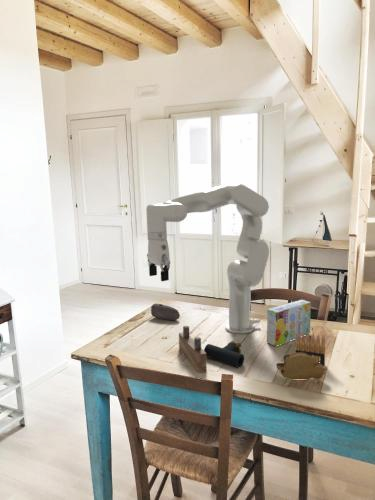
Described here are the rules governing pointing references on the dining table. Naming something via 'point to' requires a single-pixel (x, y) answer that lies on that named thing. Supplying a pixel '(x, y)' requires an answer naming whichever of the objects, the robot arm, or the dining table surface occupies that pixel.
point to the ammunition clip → (311, 347)
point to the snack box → (288, 321)
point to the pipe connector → (226, 354)
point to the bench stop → (192, 350)
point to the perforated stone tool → (164, 312)
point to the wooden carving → (300, 366)
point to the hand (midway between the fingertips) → (158, 278)
